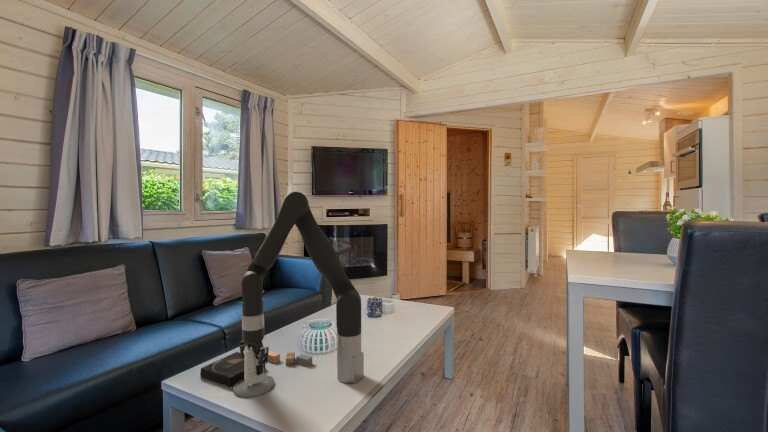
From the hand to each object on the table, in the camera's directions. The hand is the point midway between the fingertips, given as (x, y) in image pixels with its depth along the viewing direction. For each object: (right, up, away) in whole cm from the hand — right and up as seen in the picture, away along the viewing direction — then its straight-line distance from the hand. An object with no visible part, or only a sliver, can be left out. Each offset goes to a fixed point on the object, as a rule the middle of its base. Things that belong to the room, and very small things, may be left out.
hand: (254, 372), depth 127 cm
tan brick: (+8, -5, +20) cm, 22 cm away
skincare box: (0, -3, 0) cm, 3 cm away
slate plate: (0, -5, 0) cm, 5 cm away
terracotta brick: (0, -5, +22) cm, 22 cm away
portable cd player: (-12, -6, +11) cm, 17 cm away
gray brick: (+14, -5, +19) cm, 24 cm away
